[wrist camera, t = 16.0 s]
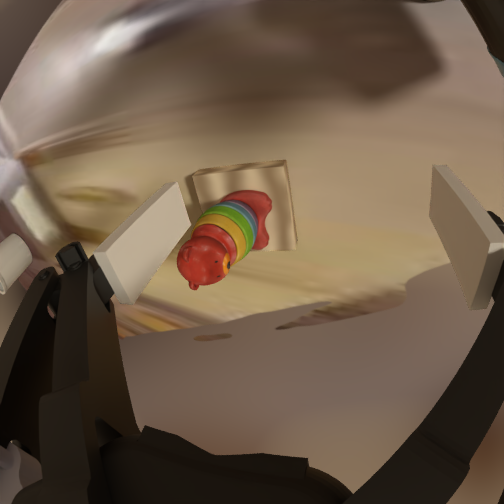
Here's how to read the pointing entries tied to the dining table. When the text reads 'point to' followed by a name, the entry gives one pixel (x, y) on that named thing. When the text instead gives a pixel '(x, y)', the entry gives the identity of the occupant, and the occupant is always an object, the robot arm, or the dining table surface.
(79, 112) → the dining table surface
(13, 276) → the utensil holder
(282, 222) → the maple block
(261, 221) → the stacking bear
